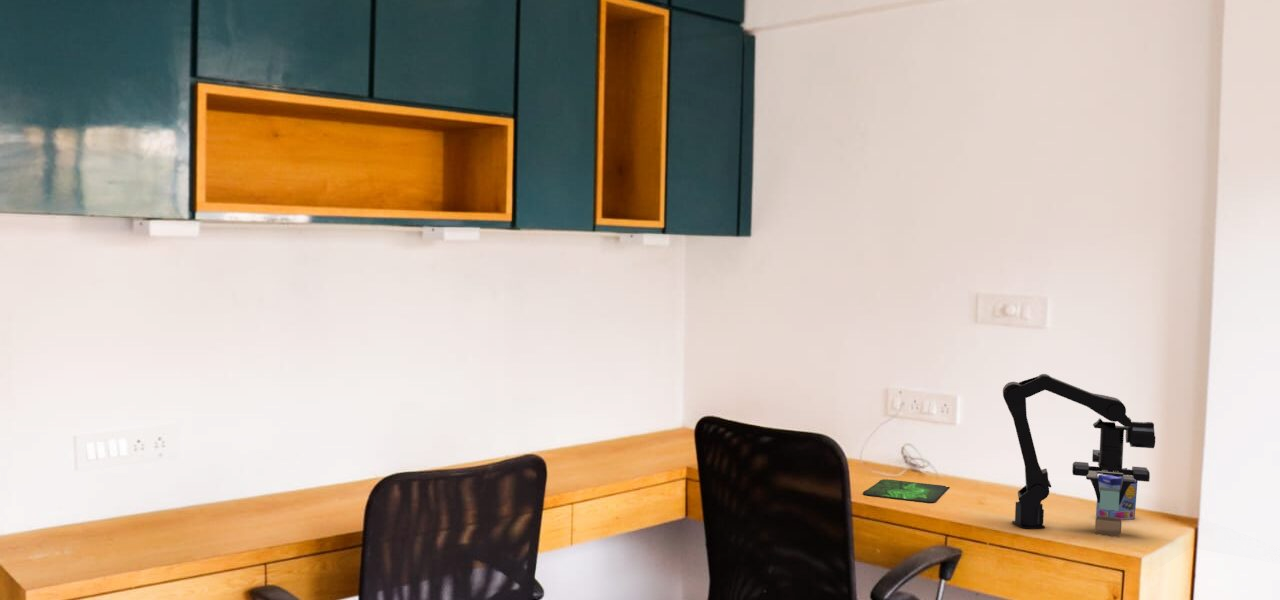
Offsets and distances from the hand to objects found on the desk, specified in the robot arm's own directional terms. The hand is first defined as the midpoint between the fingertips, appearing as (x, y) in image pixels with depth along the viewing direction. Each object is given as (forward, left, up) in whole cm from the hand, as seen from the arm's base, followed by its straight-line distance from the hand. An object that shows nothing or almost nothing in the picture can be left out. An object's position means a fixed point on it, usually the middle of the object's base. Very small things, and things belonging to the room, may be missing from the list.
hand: (1108, 503), depth 292 cm
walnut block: (0, 0, -8) cm, 8 cm away
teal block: (0, 0, -1) cm, 1 cm away
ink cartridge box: (+12, +15, -8) cm, 21 cm away
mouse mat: (-34, +53, -9) cm, 63 cm away
